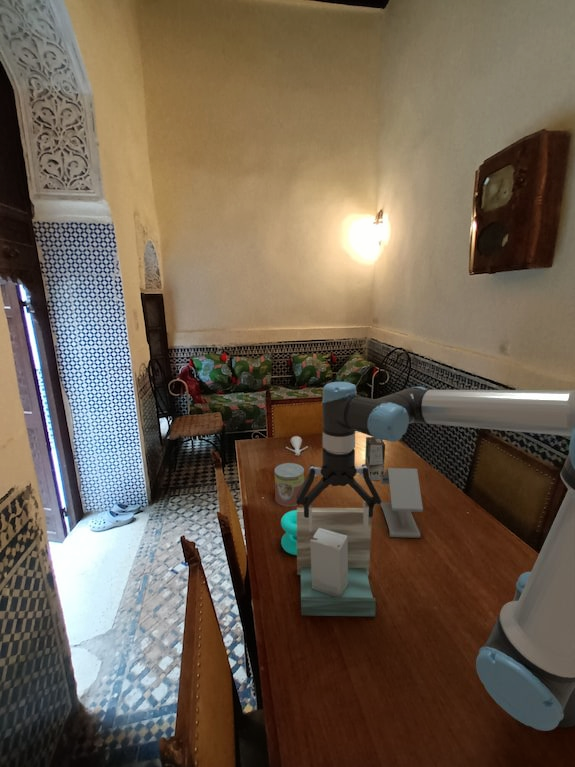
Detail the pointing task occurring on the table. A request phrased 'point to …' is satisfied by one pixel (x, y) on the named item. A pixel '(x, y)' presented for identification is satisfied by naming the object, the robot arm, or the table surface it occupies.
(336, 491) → the table surface
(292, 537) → the donuts
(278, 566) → the table surface
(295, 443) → the woman figurine
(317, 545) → the skincare box
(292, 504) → the canned food
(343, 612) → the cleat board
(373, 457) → the coffee box
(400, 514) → the folded metal stand
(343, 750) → the table surface
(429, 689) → the table surface
